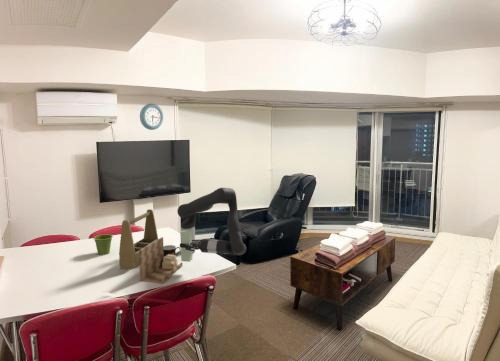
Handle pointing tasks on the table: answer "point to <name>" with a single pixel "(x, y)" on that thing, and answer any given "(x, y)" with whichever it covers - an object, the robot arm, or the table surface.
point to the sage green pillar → (186, 239)
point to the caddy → (130, 250)
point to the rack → (154, 263)
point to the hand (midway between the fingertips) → (181, 244)
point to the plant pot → (103, 243)
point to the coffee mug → (170, 250)
